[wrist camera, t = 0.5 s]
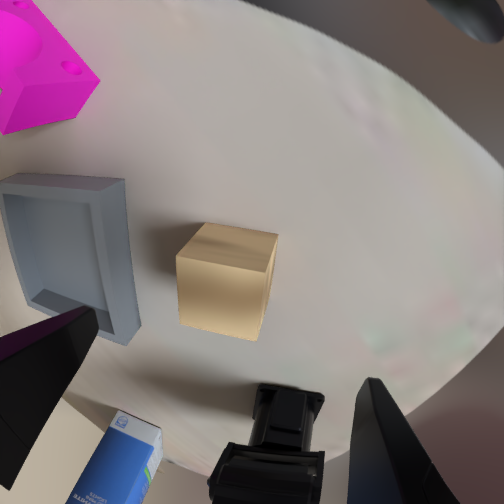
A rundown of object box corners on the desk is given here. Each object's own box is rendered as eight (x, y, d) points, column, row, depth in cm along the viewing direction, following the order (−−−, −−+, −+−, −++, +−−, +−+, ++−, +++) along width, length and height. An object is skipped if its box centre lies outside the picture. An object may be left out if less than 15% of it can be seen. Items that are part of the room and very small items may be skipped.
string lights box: (117, 407, 38) (42, 540, 16) (164, 428, 37) (96, 571, 15) (127, 440, 44) (71, 546, 22) (165, 457, 44) (114, 569, 21)
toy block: (2, 50, 17) (-55, 57, 10) (32, -2, 14) (-29, -5, 8) (63, 139, 20) (-7, 163, 14) (102, 80, 18) (24, 86, 11)
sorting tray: (141, 325, 27) (126, 346, 25) (43, 291, 29) (27, 305, 27) (124, 179, 21) (99, 191, 18) (18, 173, 23) (-4, 182, 20)
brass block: (269, 295, 23) (256, 341, 18) (205, 282, 23) (179, 323, 19) (278, 233, 20) (265, 272, 16) (206, 222, 21) (175, 255, 17)
